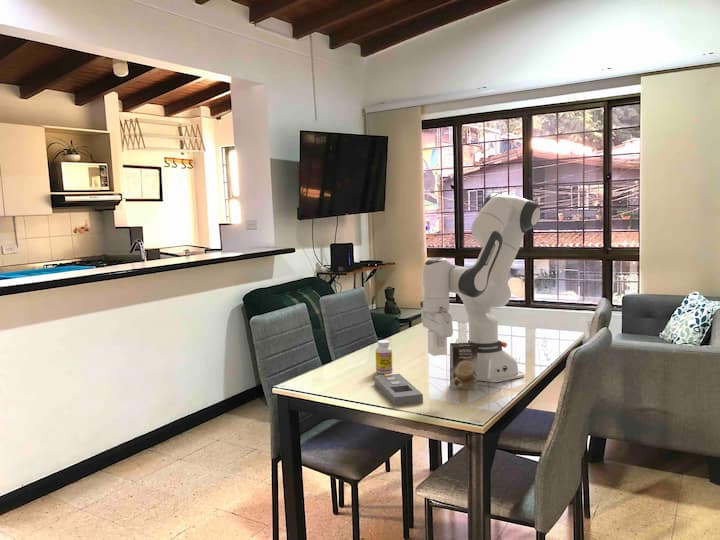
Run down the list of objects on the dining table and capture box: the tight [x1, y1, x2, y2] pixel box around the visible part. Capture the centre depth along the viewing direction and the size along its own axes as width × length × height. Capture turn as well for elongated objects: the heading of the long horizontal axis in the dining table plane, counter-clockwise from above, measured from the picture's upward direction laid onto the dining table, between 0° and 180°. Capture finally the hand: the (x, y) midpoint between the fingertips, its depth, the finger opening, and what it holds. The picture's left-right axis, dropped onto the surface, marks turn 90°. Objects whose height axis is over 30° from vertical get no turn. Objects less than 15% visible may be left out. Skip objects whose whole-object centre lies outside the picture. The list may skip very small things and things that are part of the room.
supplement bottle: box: [375, 339, 393, 375], centre depth 233 cm, size 7×7×13 cm
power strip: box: [373, 373, 424, 407], centre depth 207 cm, size 10×26×4 cm, turn 14°
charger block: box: [427, 329, 448, 357], centre depth 198 cm, size 5×5×9 cm
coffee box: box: [449, 342, 478, 391], centre depth 210 cm, size 9×6×16 cm
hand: (437, 344), depth 198 cm, fingers closed on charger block, 5 cm apart
